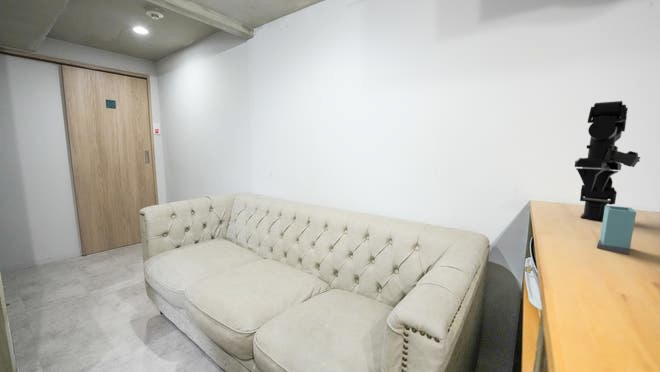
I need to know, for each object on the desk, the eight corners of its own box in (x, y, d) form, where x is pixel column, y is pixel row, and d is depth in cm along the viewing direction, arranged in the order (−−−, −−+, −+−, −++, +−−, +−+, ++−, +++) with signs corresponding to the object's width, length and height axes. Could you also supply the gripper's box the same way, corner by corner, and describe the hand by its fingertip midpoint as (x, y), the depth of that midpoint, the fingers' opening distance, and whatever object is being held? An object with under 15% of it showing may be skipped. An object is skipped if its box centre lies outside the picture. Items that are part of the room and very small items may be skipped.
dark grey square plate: (599, 242, 80) (602, 227, 79) (630, 248, 75) (633, 232, 75) (596, 247, 76) (599, 232, 75) (628, 254, 72) (631, 238, 71)
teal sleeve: (599, 239, 79) (605, 205, 77) (624, 242, 76) (631, 207, 74) (603, 245, 75) (608, 209, 73) (629, 249, 72) (636, 212, 70)
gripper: (629, 138, 76) (620, 195, 77) (648, 144, 85) (639, 194, 87) (577, 140, 85) (570, 190, 87) (600, 145, 95) (593, 190, 96)
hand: (594, 191), depth 89 cm, fingers open, 9 cm apart
